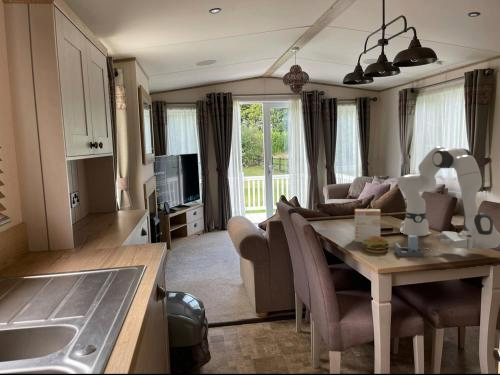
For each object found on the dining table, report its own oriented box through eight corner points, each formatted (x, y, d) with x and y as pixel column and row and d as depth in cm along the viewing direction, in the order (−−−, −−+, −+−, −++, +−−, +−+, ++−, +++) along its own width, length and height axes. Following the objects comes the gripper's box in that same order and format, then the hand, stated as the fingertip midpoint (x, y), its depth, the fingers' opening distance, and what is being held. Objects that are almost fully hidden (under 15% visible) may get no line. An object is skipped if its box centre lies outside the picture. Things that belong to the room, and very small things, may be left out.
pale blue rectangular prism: (407, 253, 211) (408, 235, 209) (415, 253, 210) (416, 235, 209) (409, 255, 207) (410, 236, 206) (417, 255, 206) (418, 237, 205)
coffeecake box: (379, 240, 239) (380, 208, 237) (380, 243, 233) (380, 211, 230) (354, 239, 243) (354, 208, 241) (354, 242, 237) (354, 210, 234)
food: (358, 247, 224) (358, 234, 223) (382, 246, 225) (382, 233, 224) (368, 254, 210) (368, 240, 209) (393, 253, 211) (393, 239, 211)
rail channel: (395, 251, 214) (395, 242, 214) (419, 252, 212) (419, 243, 212) (398, 256, 205) (398, 247, 204) (423, 257, 203) (424, 247, 202)
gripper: (458, 228, 213) (431, 228, 216) (473, 238, 193) (443, 237, 196) (458, 240, 214) (431, 239, 217) (472, 250, 194) (443, 250, 197)
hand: (437, 238), depth 206 cm, fingers open, 8 cm apart
